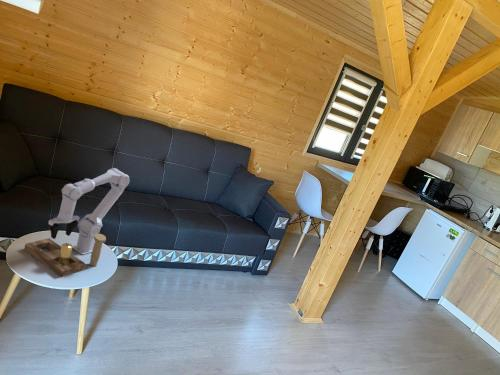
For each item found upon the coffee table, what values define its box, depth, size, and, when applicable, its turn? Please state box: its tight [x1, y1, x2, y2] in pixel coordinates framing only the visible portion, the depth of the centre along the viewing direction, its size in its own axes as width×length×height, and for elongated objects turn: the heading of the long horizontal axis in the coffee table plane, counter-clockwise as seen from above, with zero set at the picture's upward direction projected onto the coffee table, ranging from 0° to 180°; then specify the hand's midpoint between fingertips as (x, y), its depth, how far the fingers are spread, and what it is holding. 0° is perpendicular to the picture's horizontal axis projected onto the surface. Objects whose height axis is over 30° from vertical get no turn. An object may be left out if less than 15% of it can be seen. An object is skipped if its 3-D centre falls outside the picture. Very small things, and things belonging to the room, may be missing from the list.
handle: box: [89, 233, 107, 267], centre depth 179 cm, size 5×6×15 cm
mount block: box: [24, 237, 86, 278], centre depth 174 cm, size 12×26×3 cm, turn 62°
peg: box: [58, 242, 74, 266], centre depth 171 cm, size 4×4×10 cm
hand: (60, 236), depth 175 cm, fingers open, 7 cm apart
